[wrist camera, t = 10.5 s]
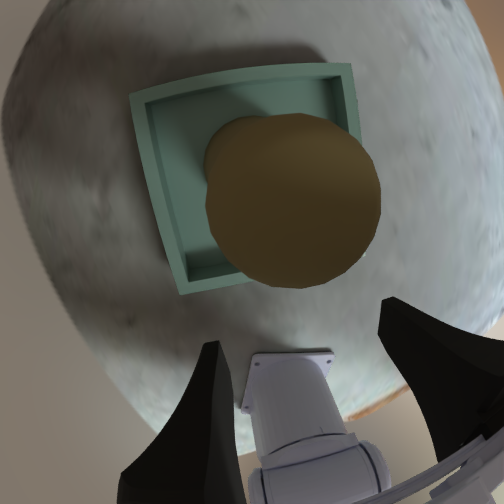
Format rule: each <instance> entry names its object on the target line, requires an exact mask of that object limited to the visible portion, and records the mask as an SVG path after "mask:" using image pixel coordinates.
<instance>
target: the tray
mask: <svg viewBox="0 0 504 504" xmlns="http://www.w3.org/2000/svg"><path fill="white" fill-rule="evenodd" d="M128 95H129V101H130V107H131V112H132V118H133V123H134V128H135V133H136V138H137V143H138V148H139V152H140V157H141V161H142V166H143V170H144V174H145V178H146V182H147V186H148V190H149V194H150V198H151V202H152V206H153V210H154V213H155V217H156V221H157V224H158V228H159V231H160V235H161V238H162V241H163V245H164V248H165V251H166V255H167V258H168V261H169V264H170V267H171V271H172V274H173V277H174V280H175V283H176V286H177V289H178V292H179V295H184V294H190V293H195V292H200V291H205V290H211V289H216V288H221V287H226V286H231V285H236V284H241V283H246V282H251V281H256V280H253V279H250V278H248V277H247V276H246V275H245V274H243V273H242V272H241V271H240V270H239V269H237V268H236V267H235V266H234V265H233V264H231V263H230V262H229V261H228V260H227V258H226V257H225V256H224V254H223V253H222V251H221V249H220V248H219V246H218V244H217V243H216V241H215V240H214V238H213V236H212V235H211V232H210V228H209V223H208V218H207V214H206V209H205V201H206V193H207V185H208V183H207V181H206V178H205V173H204V168H203V162H204V155H205V149H206V147H207V145H208V143H209V141H210V139H211V137H212V136H213V135H214V134H215V133H216V132H217V131H218V130H219V129H220V128H221V127H222V126H223V125H224V124H226V123H228V122H230V121H232V120H234V119H236V118H238V117H244V116H252V115H256V116H262V117H269V116H272V115H281V114H292V113H304V114H308V115H312V116H316V117H320V118H324V119H328V120H329V121H331V122H333V123H334V124H336V125H337V126H339V127H340V128H342V129H343V130H345V131H346V132H347V133H349V134H350V135H352V136H353V137H355V138H356V139H357V140H358V141H359V143H360V144H361V145H362V139H361V129H360V121H359V112H358V105H357V98H356V91H355V85H354V79H353V73H352V67H351V63H294V64H278V65H266V66H256V67H247V68H240V69H233V70H226V71H220V72H214V73H209V74H203V75H198V76H193V77H189V78H184V79H180V80H176V81H172V82H168V83H164V84H160V85H156V86H153V87H149V88H146V89H143V90H139V91H136V92H133V93H130V94H128ZM365 256H366V251H365V252H364V254H363V256H362V257H365Z"/></svg>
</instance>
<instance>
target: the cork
mask: <svg viewBox="0 0 504 504" xmlns="http://www.w3.org/2000/svg"><path fill="white" fill-rule="evenodd" d="M203 168H204V173H205V178H206V181H207V183H208V185H207V193H206V201H205V209H206V214H207V218H208V223H209V228H210V232H211V235H212V236H213V238H214V240H215V241H216V243H217V244H218V246H219V248H220V249H221V251H222V253H223V254H224V256H225V257H226V258H227V260H228V261H229V262H230V263H231V264H233V265H234V266H235V267H236V268H237V269H239V270H240V271H241V272H242V273H243V274H245V275H246V276H247V277H248V278H250V279H253V280H256V281H258V282H261V283H263V284H266V285H269V286H271V287H282V288H297V289H303V288H307V287H312V286H316V285H321V284H325V283H326V282H328V281H330V280H332V279H334V278H336V277H338V276H340V275H341V274H343V273H345V272H346V271H347V270H348V269H349V268H350V267H351V266H352V265H354V264H355V263H356V262H357V261H358V260H359V259H360V258H361V257H362V256H363V254H364V252H365V251H366V249H367V248H368V246H369V244H370V243H371V241H372V239H373V238H374V236H375V232H376V229H377V226H378V222H379V219H380V215H381V188H380V182H379V179H378V176H377V173H376V170H375V167H374V164H373V161H372V159H371V158H370V156H369V155H368V153H367V152H366V151H365V149H364V148H363V147H362V145H361V144H360V143H359V141H358V140H357V139H356V138H355V137H353V136H352V135H350V134H349V133H347V132H346V131H345V130H343V129H342V128H340V127H339V126H337V125H336V124H334V123H333V122H331V121H329V120H328V119H324V118H320V117H316V116H312V115H308V114H304V113H292V114H281V115H272V116H269V117H262V116H256V115H252V116H244V117H238V118H236V119H234V120H232V121H230V122H228V123H226V124H224V125H223V126H222V127H221V128H220V129H219V130H218V131H217V132H216V133H215V134H214V135H213V136H212V137H211V139H210V141H209V143H208V145H207V147H206V149H205V155H204V162H203Z"/></svg>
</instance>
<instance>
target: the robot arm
mask: <svg viewBox="0 0 504 504" xmlns="http://www.w3.org/2000/svg"><path fill="white" fill-rule="evenodd" d="M378 336H379V338H380V340H381V342H382V344H383V346H384V348H385V350H386V352H387V353H388V355H389V356H390V358H391V359H392V361H393V362H394V364H395V365H396V367H397V368H398V370H399V371H400V373H401V374H402V376H403V377H404V379H405V380H406V382H407V383H408V385H409V387H410V388H411V390H412V391H413V394H414V396H415V398H416V400H417V402H418V404H419V406H420V409H421V411H422V414H423V416H424V418H425V421H426V424H427V426H428V429H429V432H430V435H431V438H432V442H433V445H434V449H435V453H436V457H437V461H438V464H436V465H434V466H433V467H431V468H429V469H428V470H426V471H424V472H422V473H420V474H418V475H416V476H414V477H412V478H410V479H409V480H407V481H404V482H402V483H400V484H398V485H396V486H394V487H391V477H390V472H389V469H388V466H387V463H386V460H385V458H384V457H383V455H382V453H381V451H380V450H379V449H378V448H377V447H376V446H375V445H374V444H371V443H370V442H368V441H366V440H362V441H359V442H358V440H357V437H356V435H355V433H350V434H348V432H347V430H346V427H345V425H344V422H343V420H342V417H341V415H340V413H339V410H338V408H337V405H336V403H335V400H334V398H333V396H332V393H331V391H330V388H329V386H328V384H327V381H326V379H325V378H326V376H327V374H328V372H329V370H330V368H331V365H332V363H333V361H334V359H335V354H334V352H318V353H286V354H255V355H253V357H252V360H251V365H250V370H249V374H248V379H247V384H246V388H245V393H244V397H243V402H242V406H241V413H242V414H250V415H251V422H252V428H253V434H254V440H255V446H256V452H257V456H258V459H259V461H260V462H261V464H262V468H255V469H254V470H253V472H252V473H251V474H250V475H249V477H248V490H249V498H250V503H251V504H393V503H396V502H398V501H400V500H402V499H404V498H406V497H408V496H410V495H412V494H414V493H416V492H418V491H420V490H421V489H423V488H425V487H427V486H429V485H431V484H432V483H434V482H436V481H437V480H439V479H441V478H442V477H444V476H446V475H447V474H449V473H450V472H452V471H453V470H455V469H457V468H458V467H460V466H461V467H460V470H458V471H457V472H455V473H454V474H453V475H451V476H450V477H448V478H447V479H446V480H445V481H444V482H442V483H441V484H440V485H439V486H437V487H436V488H435V489H433V490H431V491H430V493H429V494H430V496H431V498H432V500H430V501H428V502H426V503H425V504H496V503H495V501H494V499H493V497H492V495H491V492H493V491H494V490H495V489H496V488H497V487H498V486H499V485H500V484H501V483H502V482H503V481H504V341H503V340H496V339H491V338H487V337H483V336H479V335H475V334H472V333H469V332H466V331H463V330H461V329H458V328H455V327H453V326H451V325H448V324H446V323H444V322H442V321H440V320H438V319H436V318H434V317H432V316H430V315H428V314H426V313H424V312H422V311H420V310H418V309H416V308H415V307H413V306H411V305H409V304H407V303H405V302H403V301H401V300H399V299H397V298H395V297H390V298H387V299H383V300H382V303H381V312H380V320H379V327H378ZM256 362H258V363H256ZM117 504H247V503H246V498H245V494H244V489H243V484H242V480H241V474H240V469H239V463H238V457H237V451H236V444H235V430H234V403H233V389H232V382H231V375H230V371H229V368H228V365H227V362H226V359H225V356H224V353H223V351H222V348H221V345H220V342H219V340H218V341H213V342H207V343H204V344H203V346H202V350H201V353H200V356H199V359H198V362H197V364H196V367H195V370H194V372H193V374H192V377H191V379H190V381H189V384H188V386H187V388H186V390H185V392H184V394H183V396H182V398H181V400H180V402H179V404H178V405H177V407H176V409H175V411H174V412H173V414H172V416H171V417H170V419H169V420H168V422H167V423H166V425H165V426H164V427H163V429H162V430H161V432H160V433H159V434H158V436H157V437H156V438H155V439H154V441H153V442H152V443H151V444H150V445H149V446H148V447H147V449H146V450H145V451H144V452H143V453H142V454H141V455H140V456H139V457H138V458H137V459H136V460H135V461H134V462H133V463H132V464H131V465H130V466H128V467H127V468H126V469H125V470H124V471H123V472H122V473H121V476H120V480H119V484H118V493H117Z"/></svg>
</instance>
